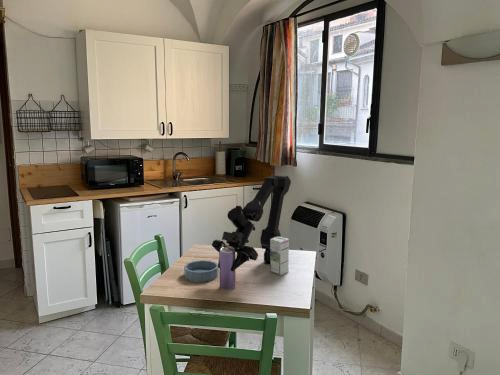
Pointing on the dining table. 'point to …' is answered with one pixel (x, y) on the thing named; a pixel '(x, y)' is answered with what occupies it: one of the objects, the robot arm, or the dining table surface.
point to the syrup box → (279, 255)
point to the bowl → (201, 271)
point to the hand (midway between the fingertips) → (225, 269)
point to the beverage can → (227, 268)
